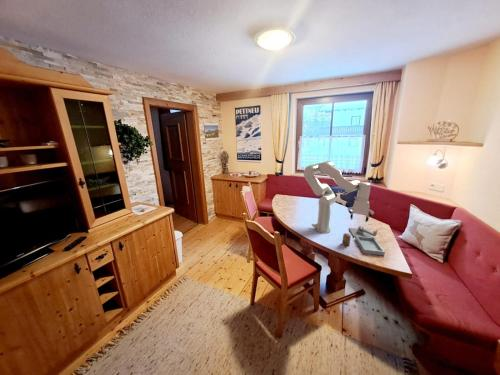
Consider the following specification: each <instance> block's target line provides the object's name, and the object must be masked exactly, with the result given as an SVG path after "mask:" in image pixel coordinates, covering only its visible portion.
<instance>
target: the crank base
mask: <svg viewBox="0 0 500 375" xmlns="http://www.w3.org/2000/svg"><path fill="white" fill-rule="evenodd" d="M348 230H349V231H350V234H351V235H352V237H354V238H356V236H362V237H373V236H372V235H370V234H368V233H366V232H363V231H359V230H358V227H357V228H355V227H348Z"/></svg>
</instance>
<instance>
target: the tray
mask: <svg viewBox="0 0 500 375" xmlns="http://www.w3.org/2000/svg"><path fill="white" fill-rule="evenodd" d="M355 241H356V242H357V245H358V247H359V248H360V249H361V251H362V253H363V254H367V255H374V256H375V255H376V256H377V255H378V256H385V252H386V251H385V250H384V249H383V247H382V246H381V245H380V243H379V242H378V241H377V240H376V238H375V237H374V236H372V237H362V236H356V237H355Z"/></svg>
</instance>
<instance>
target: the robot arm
mask: <svg viewBox="0 0 500 375" xmlns="http://www.w3.org/2000/svg"><path fill="white" fill-rule="evenodd" d="M320 173H322V174H325V175H326V176H327V177H329V178H331V179H332V180H333V181H334V183H335V184H336V185H337V186H338V187H339V188H341V189H342V190H344V191H346V192H348V193H352V192H354V191H357V194H356V196H354V199H355V200H354V203H353V206H351V207H347V212H348V213H349V214H350V221H352V220H353V218H354V214H356V215H362V216H365V223H367V222H369V218H370V217H372V216H373V215H374V214H375V211H373V210H372V209H370V201H369V198H370V193H371V187H372V184H371V183H369V182H366V181H365V182H364V181H361V180H359V179H358V180H357V179H352V180H348V179H346V178H345V177H344V176H343V175H342V171H341V170H340V169H339V168H337V167H336V166H335V164H334V162H332V161H331V160H330V161H328V160H326V161H324V162H319V163H314V164H311V165H308V166H306V167H305V168H304V170H303V177H304V179H305V181H306V182H307V183H308V185H309V186H310V188H311V190H312V192H313V194H314V195H316V196H321V197H320V198H319V199H318V213H317V215H318V216H317V222H316V223H311V227H313V228H314V229H315V230H316V232H318V233H321V234H322V233H323V234H327V233H330V232H331V228H330V226H329V225H330V219H331V206H333V205H334V204H335V202H336V201H337V196H336V195H335V193H334V191H333V190H332V189H331V187H330V185H329V184H327V183H326V182H320V180H319V179H318V177H316V176H315V175H317V174H320ZM351 210H352V211H351Z"/></svg>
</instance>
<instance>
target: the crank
mask: <svg viewBox="0 0 500 375" xmlns="http://www.w3.org/2000/svg"><path fill="white" fill-rule="evenodd" d="M357 229H358V230H359V231H363V232H366V233H368V234H370V235H371V236H372V237H373V238H375V237H377V233H378V230H377V229H375V230H373V231H370V230H368V229H366V228H365V227H363V226H358V227H357Z"/></svg>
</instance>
